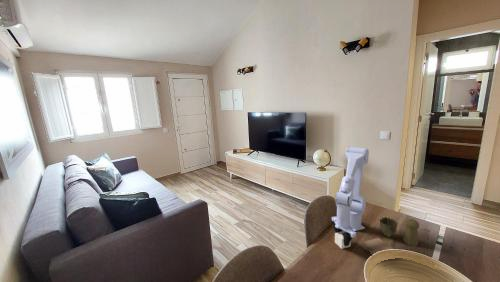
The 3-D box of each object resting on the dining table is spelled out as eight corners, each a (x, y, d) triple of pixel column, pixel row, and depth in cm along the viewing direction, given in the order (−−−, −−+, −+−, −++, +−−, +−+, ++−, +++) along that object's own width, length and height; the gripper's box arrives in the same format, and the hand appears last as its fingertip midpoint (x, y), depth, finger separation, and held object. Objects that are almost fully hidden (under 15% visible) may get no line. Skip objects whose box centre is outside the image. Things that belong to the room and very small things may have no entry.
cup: (390, 242, 102) (392, 227, 100) (375, 234, 108) (376, 219, 106) (399, 236, 105) (400, 222, 103) (384, 229, 111) (385, 215, 110)
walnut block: (362, 247, 100) (362, 241, 99) (378, 243, 102) (378, 237, 101) (378, 261, 91) (378, 255, 91) (394, 256, 94) (395, 250, 93)
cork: (421, 246, 98) (423, 224, 96) (406, 245, 99) (408, 224, 97) (414, 237, 104) (416, 217, 101) (400, 236, 105) (402, 216, 103)
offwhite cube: (334, 242, 104) (334, 233, 103) (343, 239, 105) (343, 230, 104) (341, 248, 99) (341, 239, 98) (350, 246, 100) (350, 237, 99)
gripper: (326, 210, 105) (326, 234, 108) (347, 226, 91) (346, 253, 94) (338, 207, 107) (338, 231, 110) (360, 223, 93) (359, 250, 96)
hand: (342, 241), depth 102 cm, fingers closed on offwhite cube, 5 cm apart
